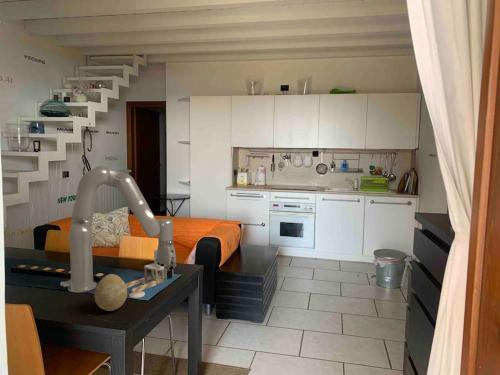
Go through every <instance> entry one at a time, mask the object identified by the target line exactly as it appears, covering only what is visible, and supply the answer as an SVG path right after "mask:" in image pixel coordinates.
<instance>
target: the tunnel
mask: <svg viewBox="0 0 500 375" xmlns="http://www.w3.org/2000/svg"><path fill="white" fill-rule="evenodd" d="M143 267H144V276H143V277H142V278H138V279H134V280H132V281H130V282H126V283H125V285H126V287H127V289H128V288H131V287H133V288H131V292H135V291H144V290H147V289H149V288H153V287H154V286H158V285H161V284H163V283H165V279H164V267H163V266H159V265H156V264H154V262H152V263H149V264H146V265H144V266H143ZM148 270H150V275H148ZM159 270H161V279H158V274H159V273H158V272H159ZM153 275H155V281H153V282H150V283H147V284H144V285H143V284H141V285H140V280H141V279H144V278H147V277H150V276H153ZM160 283H161V284H160ZM157 284H158V285H157ZM137 285H139V286H137ZM134 286H136V287H134Z"/></svg>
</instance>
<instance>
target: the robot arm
mask: <svg viewBox="0 0 500 375" xmlns="http://www.w3.org/2000/svg"><path fill="white" fill-rule="evenodd" d="M102 185H105V186H109V187H111V188H114V189H118V191H119V192H120V194H121V195H122V198H123V199H124V201H125V202H126V204H127V206H128V208H129V209H130V210H131V211H130V212H132V214H134V216H135V217H136V219H137V221H138V222H139V224H140V226H141V228H142V230H143V232H144V234H146V235H147V237H150V238H156V237H157V240H158V241H157V242H158V245H157V249H158V250H157V259H156V262H157V263H158V265H159V266H163V267H164V265H167V268H168V271H167V278H168V279H171V278H173V277H174V269H175V268H176V267H177V266H178V265H177V258H176V257H177V256H176V248H175V245H174V221H173V220H172V219H171V218H162V219H157V218H156V217H155V215H154V214H153V212H152V209H151V208H150V207H149V204H148V203H147V200H146V199H145V197H144V195H143V194H142V192H141V189H140V188H139V186H138V184H137V183H136V181H135V179H134V178H133V176H131V175H130V174H128V173H126V172H122V171H119V170H116V169H113V168H109V167H106V166H104V165H99V166H96V167H94V168H92V169H90V170H88V171H87V172H86V173H84V175H83V176H82V177H81V178H80V180H79V181H78V185H77V191H76V195H75V201H74V202H75V203H74V204H73V208H72V213H71V214H72V216H71V220H70V221H71V222H70V228H69V234H68V237H69V238H68V239H69V240H68V241H69V255H70V256H69V257H70V278H69V279H70V280H69V279H68V281H60V287H63V288H66V287H67V291H69V292H71V293H85V292H86V293H87V292H89V291H92V290H95V289H96V287H97V285H98V283H97V282H95V281H94V274H93V272H94V268H93V265H94V264H93V262H94V261H93V232H92V231H93V230H92V229H93V228H92V225H93V220H94V214H95V210H96V207H95V206H96V198H97V194H98V189H99V187H100V186H102ZM158 272H159V273H160V270H159V271H158ZM159 273H158V274H159Z"/></svg>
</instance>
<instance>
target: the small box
mask: <svg viewBox="0 0 500 375" xmlns="http://www.w3.org/2000/svg"><path fill="white" fill-rule="evenodd" d="M157 250H158V248H157V249H155V250H153V253H154V254H153V257H154V258H153V261H154V262H153V264H156V265H158V263H157V262H156V259H157ZM164 266H167V265H164Z"/></svg>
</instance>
